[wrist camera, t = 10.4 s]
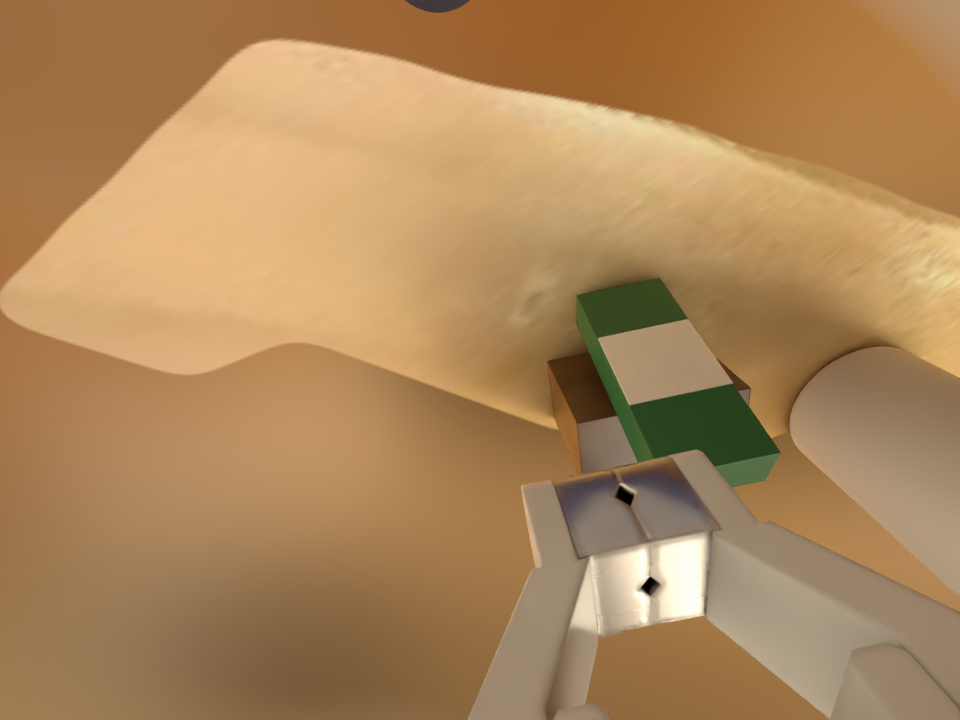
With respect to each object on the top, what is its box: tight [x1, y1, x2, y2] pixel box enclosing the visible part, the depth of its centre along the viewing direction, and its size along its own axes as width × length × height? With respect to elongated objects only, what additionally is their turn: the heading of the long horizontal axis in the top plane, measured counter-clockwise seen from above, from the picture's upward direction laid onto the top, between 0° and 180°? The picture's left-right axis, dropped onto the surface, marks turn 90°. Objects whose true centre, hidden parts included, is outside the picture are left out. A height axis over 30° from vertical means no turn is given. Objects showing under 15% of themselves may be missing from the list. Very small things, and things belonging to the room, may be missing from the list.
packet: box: [577, 278, 780, 488], centre depth 32 cm, size 13×6×13 cm, turn 10°
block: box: [548, 353, 751, 474], centre depth 38 cm, size 6×12×9 cm, turn 100°
